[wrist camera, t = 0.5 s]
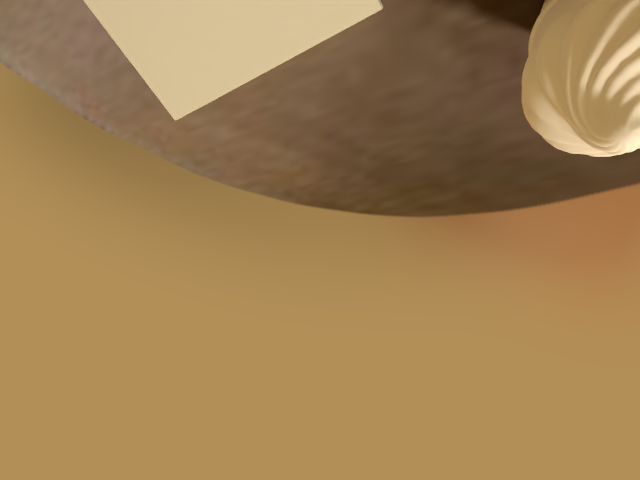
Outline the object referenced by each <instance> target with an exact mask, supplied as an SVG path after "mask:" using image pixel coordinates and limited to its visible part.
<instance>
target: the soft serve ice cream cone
mask: <svg viewBox="0 0 640 480" xmlns="http://www.w3.org/2000/svg"><path fill="white" fill-rule="evenodd" d="M528 53H529V57H528V59H527V61H526V64H525V66H524V71H523V76H522V106H523V110H524V114H525V117H526V119H527V120H528V122H529V124H530V125H531V127H532V128H533V129H534V130H535V131H536V132H538V133H539V134H540V135H541V136H542V137H543V138H544V140H546V141H547V142H548V143H550V144H551V145H552V146H554V147H555V148H557V149H559V150H562V151H565V152H569V153H575V154H586V155H590V156H594V157H610V156H614V155H620V154H623V153H625V152H627V153H628V152H632V151H634V150H636V149H638V148H640V0H545V2H544V4H543V6H542V9H541V12H540V15H539V16H538V18H537V20H536V22H535V24H534V26H533V28H532V31H531V35H530V39H529V51H528Z"/></svg>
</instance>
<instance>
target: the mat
mask: <svg viewBox="0 0 640 480" xmlns="http://www.w3.org/2000/svg"><path fill="white" fill-rule="evenodd" d="M84 2H85V3H86V4H87V6H88V7H89V8H90V10H91V11H92V12H93V13H94V15H95V16H96V17H97V19H98V20H99V21H100V23H101V24H102V25H103V27H104V28H105V29H106V31H107V32H108V33H109V34H110V36H111V37H112V38H113V40H114V41H115V42H116V44H117V45H118V46H119V48H120V49H121V50H122V52H123V53H124V54H125V55H126V57H127V58H128V59H129V61H130V62H131V63H132V65H133V66H134V67H135V69H136V70H137V71H138V73H139V74H140V75H141V76H142V78H143V79H144V80H145V82H146V83H147V84H148V86H149V87H150V88H151V90H152V91H153V92H154V94H155V95H156V96H157V97H158V99H159V100H160V101H161V103H162V104H163V105H164V107H165V108H166V109H167V111H168V112H169V113H170V115H171V116H172V117H173V118H174V120H175V121H176V120H178V119H180V118H181V117H183V116H185V115H187V114H189V113H191V112H193V111H194V110H196V109H198V108H200V107H202V106H204V105H206V104H207V103H209V102H211V101H213V100H215V99H217V98H218V97H220V96H222V95H224V94H226V93H228V92H230V91H231V90H233V89H235V88H237V87H239V86H241V85H243V84H244V83H246V82H248V81H250V80H252V79H254V78H255V77H257V76H259V75H261V74H263V73H265V72H267V71H268V70H270V69H272V68H274V67H276V66H278V65H280V64H281V63H283V62H285V61H287V60H289V59H291V58H292V57H294V56H296V55H298V54H300V53H302V52H304V51H305V50H307V49H309V48H311V47H313V46H315V45H317V44H318V43H320V42H322V41H324V40H326V39H328V38H329V37H331V36H333V35H335V34H337V33H339V32H341V31H342V30H344V29H346V28H348V27H350V26H352V25H354V24H355V23H357V22H359V21H361V20H363V19H365V18H366V17H368V16H370V15H372V14H374V13H376V12H378V11H379V10H381V9H382V8H383V5H382V3H381V0H84Z"/></svg>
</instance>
